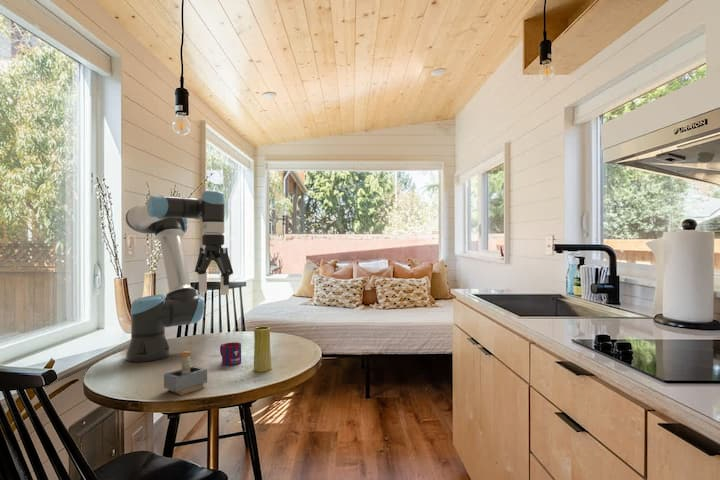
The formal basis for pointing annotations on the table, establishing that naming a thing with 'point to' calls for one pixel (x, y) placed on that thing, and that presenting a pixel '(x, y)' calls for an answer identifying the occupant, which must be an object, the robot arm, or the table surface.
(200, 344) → the table surface
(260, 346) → the vase
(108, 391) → the table surface
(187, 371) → the keeper post
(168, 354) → the robot arm
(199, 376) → the link
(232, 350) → the mug
